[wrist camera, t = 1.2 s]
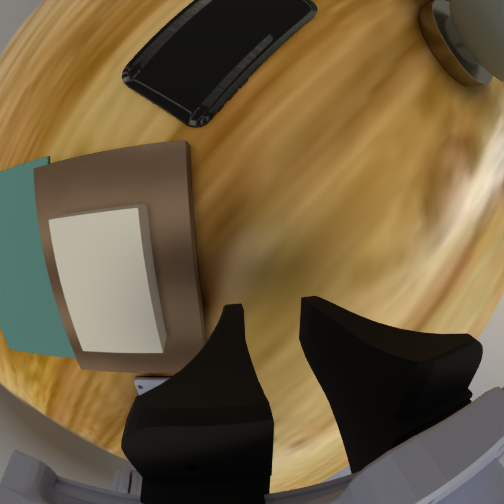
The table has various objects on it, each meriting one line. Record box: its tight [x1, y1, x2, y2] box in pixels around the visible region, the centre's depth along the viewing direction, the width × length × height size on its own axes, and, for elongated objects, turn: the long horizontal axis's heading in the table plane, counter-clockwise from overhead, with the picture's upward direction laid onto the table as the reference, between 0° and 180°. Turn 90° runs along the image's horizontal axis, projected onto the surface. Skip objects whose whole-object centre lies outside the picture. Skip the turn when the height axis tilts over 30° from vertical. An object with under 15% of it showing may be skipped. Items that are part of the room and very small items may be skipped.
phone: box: [122, 0, 318, 127], centre depth 15 cm, size 8×1×15 cm
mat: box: [0, 156, 76, 358], centre depth 17 cm, size 18×12×1 cm, turn 2°
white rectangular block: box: [49, 204, 167, 353], centre depth 15 cm, size 9×6×2 cm, turn 2°
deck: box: [33, 140, 207, 373], centre depth 17 cm, size 16×11×3 cm
